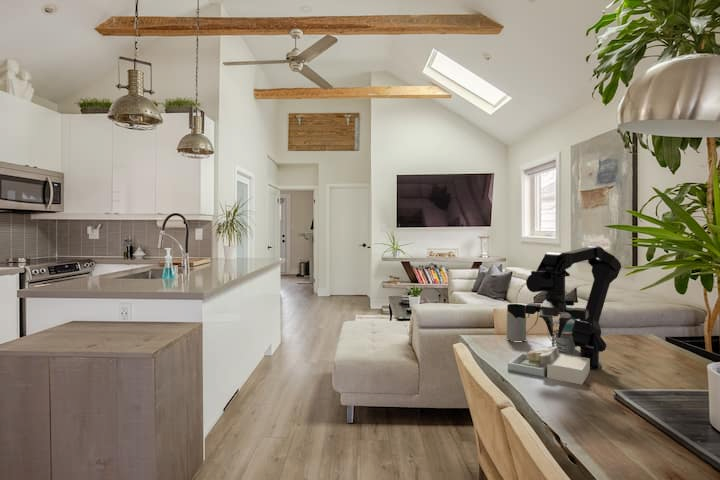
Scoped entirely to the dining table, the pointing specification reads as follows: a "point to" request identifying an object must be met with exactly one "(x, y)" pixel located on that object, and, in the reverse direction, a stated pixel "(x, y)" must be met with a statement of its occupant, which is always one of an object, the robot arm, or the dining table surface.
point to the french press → (561, 341)
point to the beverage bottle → (570, 327)
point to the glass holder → (517, 322)
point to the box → (517, 366)
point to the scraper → (544, 355)
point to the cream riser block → (569, 368)
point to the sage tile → (530, 363)
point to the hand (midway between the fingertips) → (555, 336)
